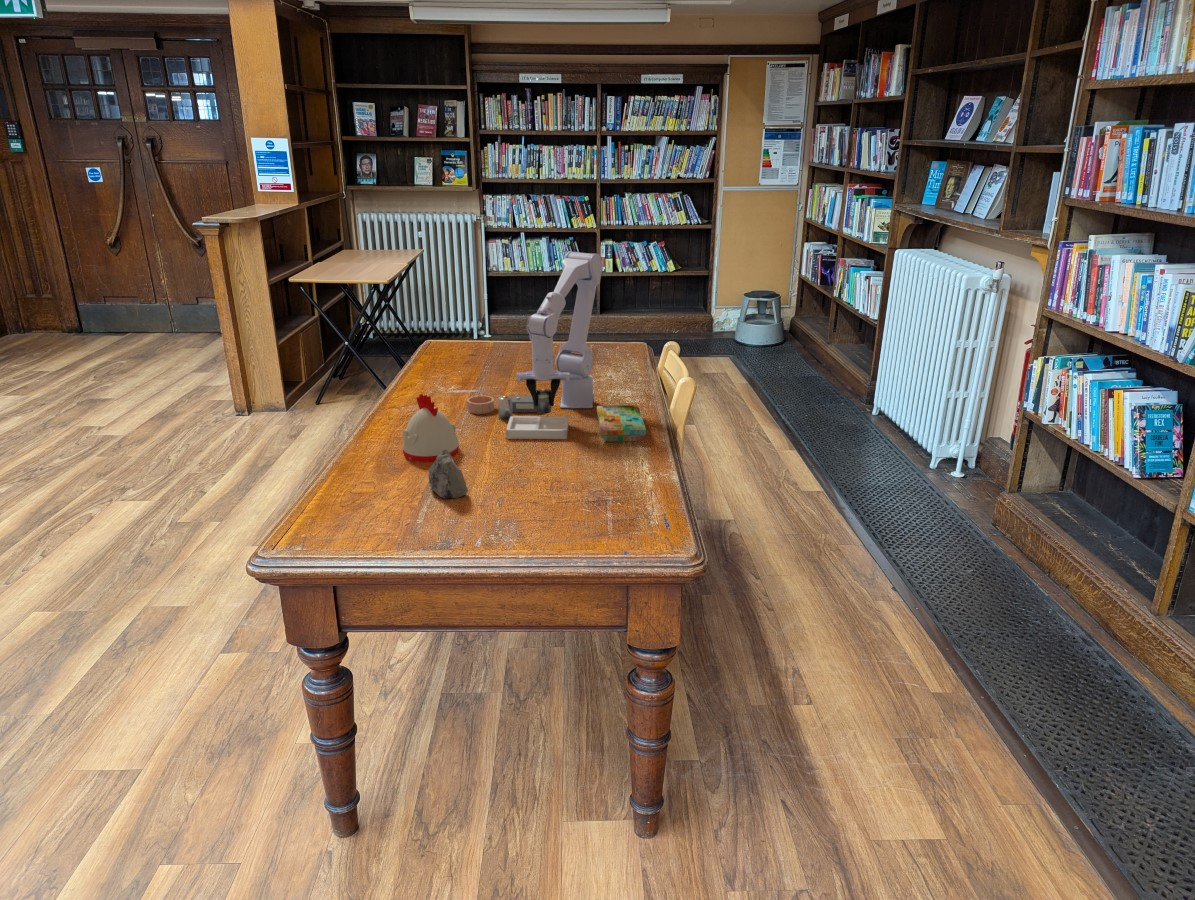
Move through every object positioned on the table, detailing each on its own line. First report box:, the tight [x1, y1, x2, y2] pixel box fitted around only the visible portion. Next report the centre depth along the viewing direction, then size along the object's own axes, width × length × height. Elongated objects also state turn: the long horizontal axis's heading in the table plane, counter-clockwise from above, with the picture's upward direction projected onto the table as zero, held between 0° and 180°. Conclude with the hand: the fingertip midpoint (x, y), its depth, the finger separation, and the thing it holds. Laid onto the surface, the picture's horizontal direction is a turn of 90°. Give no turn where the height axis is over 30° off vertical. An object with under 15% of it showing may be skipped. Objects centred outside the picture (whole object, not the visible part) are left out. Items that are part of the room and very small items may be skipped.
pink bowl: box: [466, 395, 496, 415], centre depth 236 cm, size 8×8×3 cm
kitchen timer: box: [402, 393, 460, 463], centre depth 204 cm, size 14×14×15 cm
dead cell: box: [497, 394, 514, 421], centre depth 229 cm, size 4×4×6 cm
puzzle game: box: [596, 404, 647, 442], centre depth 221 cm, size 12×5×20 cm
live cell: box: [536, 388, 552, 415], centre depth 226 cm, size 4×4×6 cm
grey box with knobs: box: [511, 395, 538, 413], centre depth 237 cm, size 8×6×3 cm
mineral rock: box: [428, 449, 469, 500], centre depth 184 cm, size 13×11×10 cm
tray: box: [505, 415, 569, 440], centre depth 220 cm, size 16×11×2 cm
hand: (544, 405), depth 227 cm, fingers closed on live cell, 4 cm apart
